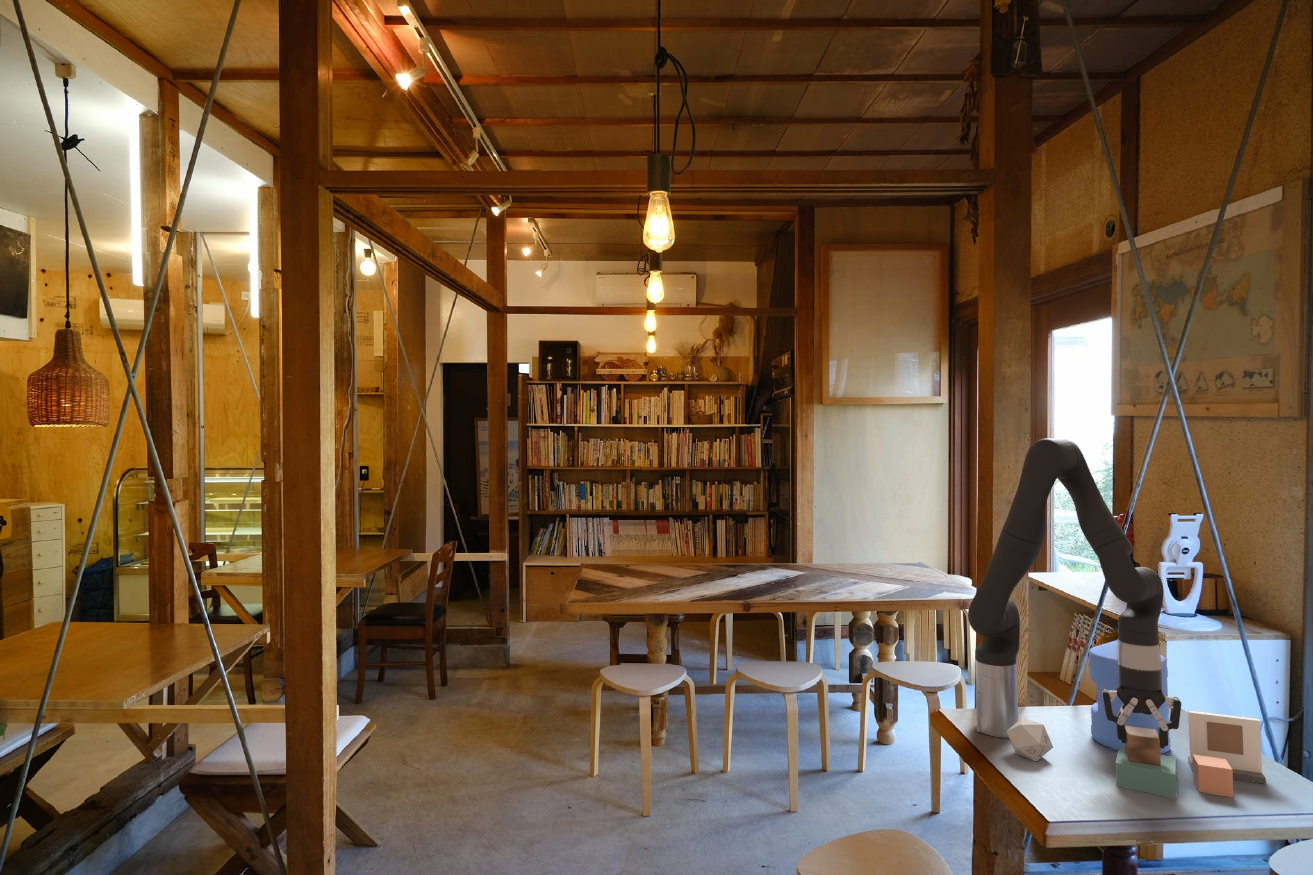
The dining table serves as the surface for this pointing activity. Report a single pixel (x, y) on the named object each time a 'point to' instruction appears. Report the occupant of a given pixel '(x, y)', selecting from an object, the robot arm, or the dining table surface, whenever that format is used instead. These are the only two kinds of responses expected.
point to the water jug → (1106, 677)
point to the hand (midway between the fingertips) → (1142, 744)
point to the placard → (1228, 742)
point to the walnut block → (1142, 745)
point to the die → (1029, 739)
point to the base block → (1147, 775)
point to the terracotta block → (1213, 775)
